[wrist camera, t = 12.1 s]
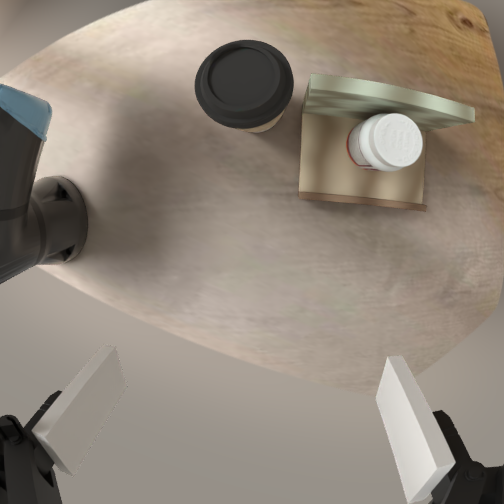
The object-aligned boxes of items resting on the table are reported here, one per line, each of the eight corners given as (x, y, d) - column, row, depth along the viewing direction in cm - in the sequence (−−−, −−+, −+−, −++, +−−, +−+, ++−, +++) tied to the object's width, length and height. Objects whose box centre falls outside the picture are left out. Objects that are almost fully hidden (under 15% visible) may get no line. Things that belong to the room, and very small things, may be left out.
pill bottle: (397, 140, 33) (437, 132, 23) (376, 179, 35) (411, 185, 24) (357, 114, 33) (385, 95, 22) (336, 154, 35) (357, 149, 24)
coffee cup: (302, 122, 36) (314, 96, 22) (241, 153, 38) (216, 143, 24) (270, 67, 34) (262, 16, 20) (210, 97, 36) (172, 62, 22)
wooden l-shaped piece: (298, 196, 39) (305, 210, 25) (302, 105, 35) (311, 73, 22) (415, 207, 37) (468, 227, 24) (420, 122, 34) (474, 108, 21)
